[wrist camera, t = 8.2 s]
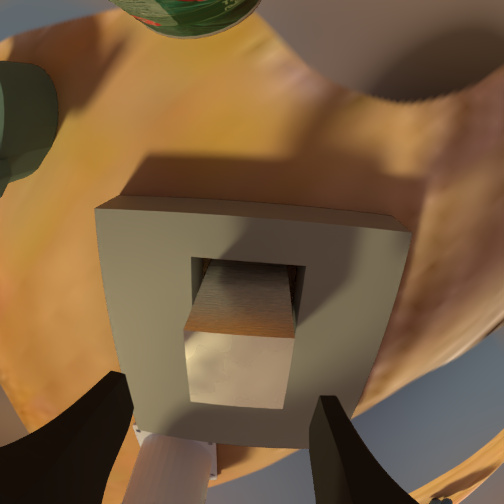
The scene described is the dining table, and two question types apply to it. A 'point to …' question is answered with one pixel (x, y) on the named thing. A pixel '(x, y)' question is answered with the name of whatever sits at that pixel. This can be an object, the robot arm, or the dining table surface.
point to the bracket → (25, 119)
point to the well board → (253, 250)
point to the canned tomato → (188, 15)
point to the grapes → (444, 503)
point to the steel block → (240, 335)
